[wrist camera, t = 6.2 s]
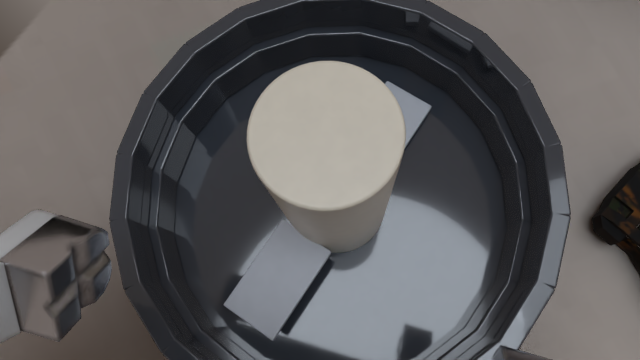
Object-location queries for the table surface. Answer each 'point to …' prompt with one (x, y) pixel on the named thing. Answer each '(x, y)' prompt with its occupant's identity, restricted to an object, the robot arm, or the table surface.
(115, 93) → the table surface
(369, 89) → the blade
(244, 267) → the dark grey round dish
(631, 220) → the knife
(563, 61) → the table surface
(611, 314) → the table surface
